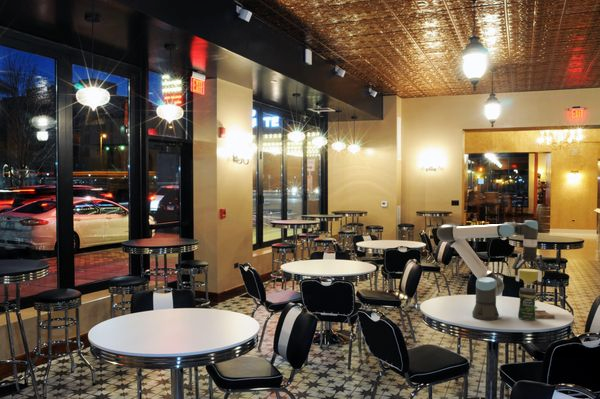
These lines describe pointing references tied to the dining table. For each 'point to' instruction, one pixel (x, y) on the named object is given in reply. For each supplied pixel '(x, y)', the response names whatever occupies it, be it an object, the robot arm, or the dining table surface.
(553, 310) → the dining table surface
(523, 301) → the coffee jar
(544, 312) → the walnut board
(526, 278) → the cocktail glass
